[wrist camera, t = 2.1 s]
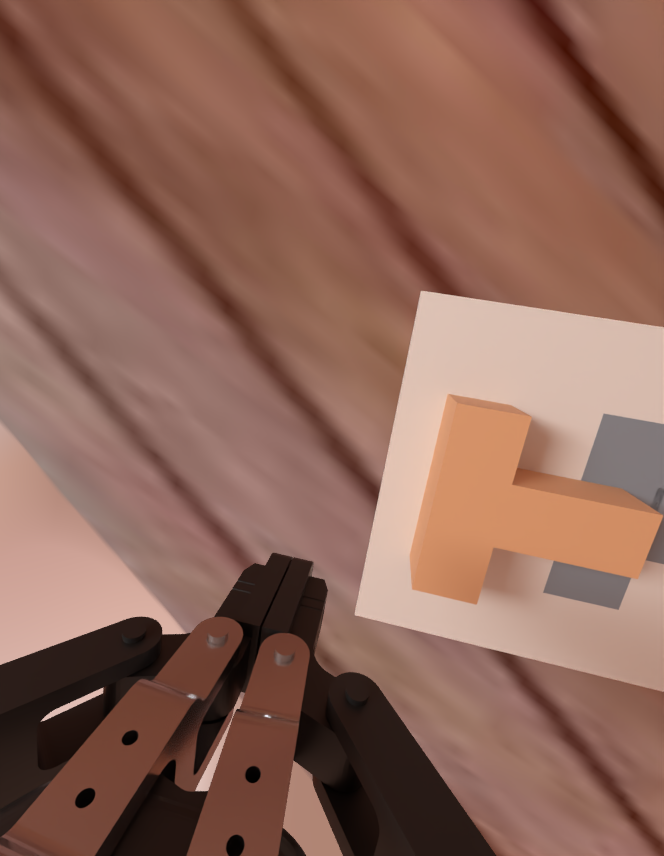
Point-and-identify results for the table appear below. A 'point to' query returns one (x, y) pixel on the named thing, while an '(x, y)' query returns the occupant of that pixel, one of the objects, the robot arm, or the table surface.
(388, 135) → the table surface
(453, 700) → the table surface
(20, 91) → the table surface
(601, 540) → the t block
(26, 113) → the table surface
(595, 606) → the board
